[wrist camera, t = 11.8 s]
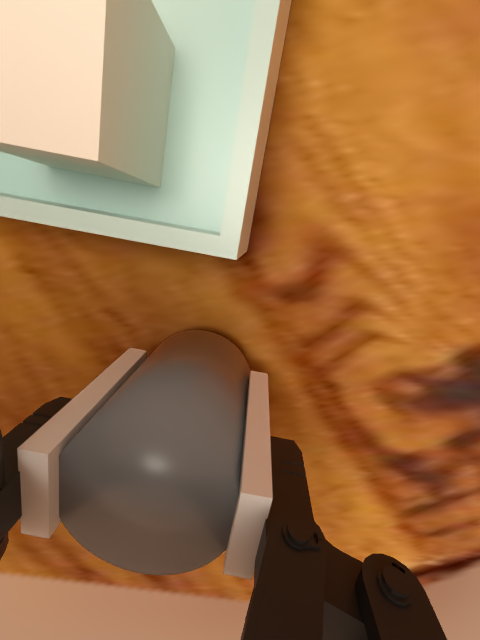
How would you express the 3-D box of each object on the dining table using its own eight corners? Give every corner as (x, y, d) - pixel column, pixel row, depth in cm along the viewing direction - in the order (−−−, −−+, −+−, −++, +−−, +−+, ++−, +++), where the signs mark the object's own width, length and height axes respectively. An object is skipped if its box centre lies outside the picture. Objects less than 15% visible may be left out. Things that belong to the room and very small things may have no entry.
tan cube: (47, 165, 13) (-77, 127, 8) (48, 25, 12) (-101, -117, 7) (160, 187, 13) (98, 161, 8) (175, 47, 12) (110, -82, 7)
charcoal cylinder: (143, 414, 15) (52, 554, 9) (152, 320, 14) (50, 403, 7) (241, 433, 15) (224, 590, 9) (260, 340, 14) (256, 442, 7)
